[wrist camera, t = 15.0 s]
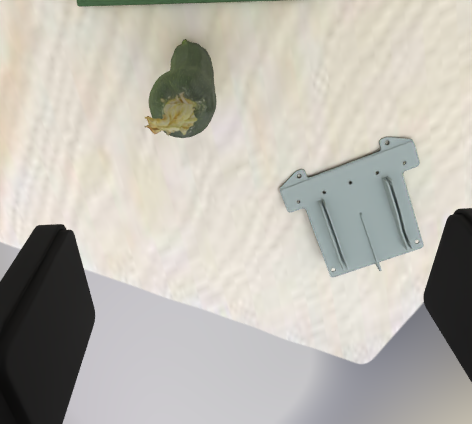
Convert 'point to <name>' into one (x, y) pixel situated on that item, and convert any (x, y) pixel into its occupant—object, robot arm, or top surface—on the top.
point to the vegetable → (184, 94)
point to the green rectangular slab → (149, 2)
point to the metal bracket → (360, 207)
